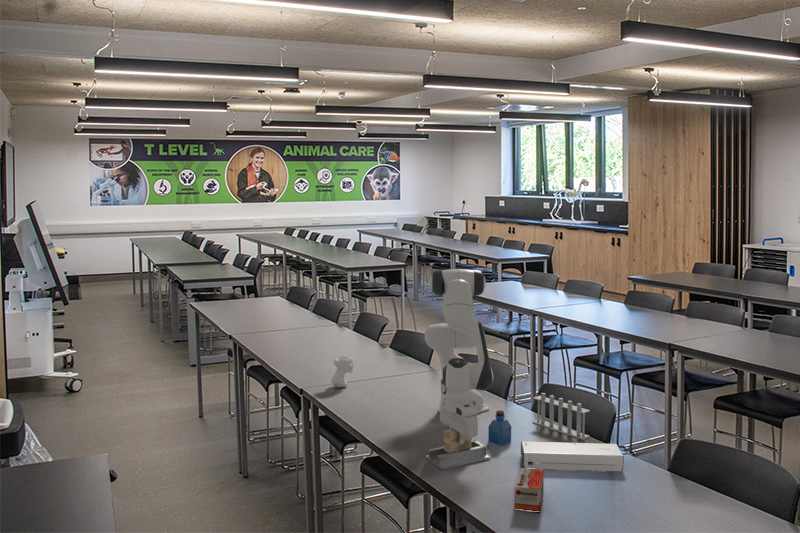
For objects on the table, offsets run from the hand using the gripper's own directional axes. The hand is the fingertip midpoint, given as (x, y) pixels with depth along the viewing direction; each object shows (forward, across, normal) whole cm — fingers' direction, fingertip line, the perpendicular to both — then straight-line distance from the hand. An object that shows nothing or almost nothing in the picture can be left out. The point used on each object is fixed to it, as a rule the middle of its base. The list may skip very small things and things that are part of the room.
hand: (457, 441), depth 247 cm
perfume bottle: (+7, -6, +23) cm, 25 cm away
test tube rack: (+7, -5, +52) cm, 53 cm away
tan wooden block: (+3, 0, 0) cm, 3 cm away
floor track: (+6, 0, 0) cm, 6 cm away
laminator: (+7, +23, +32) cm, 41 cm away
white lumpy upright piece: (+7, -101, -2) cm, 101 cm away
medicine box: (+7, +39, +2) cm, 40 cm away
